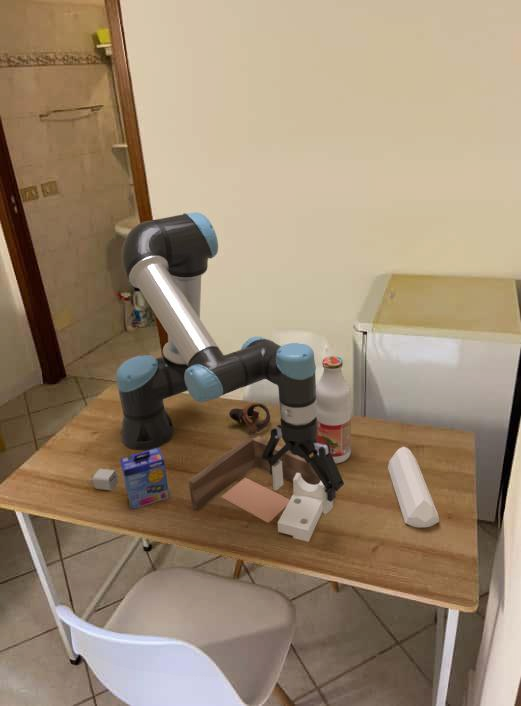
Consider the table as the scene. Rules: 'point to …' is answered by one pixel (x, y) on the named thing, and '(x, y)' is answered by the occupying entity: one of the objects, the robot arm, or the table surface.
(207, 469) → the corner walls
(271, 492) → the pad
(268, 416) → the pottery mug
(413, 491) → the crystal
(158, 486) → the ink cartridge box
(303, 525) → the bracket
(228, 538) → the table surface
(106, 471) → the usb wall charger
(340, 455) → the fruit juice
